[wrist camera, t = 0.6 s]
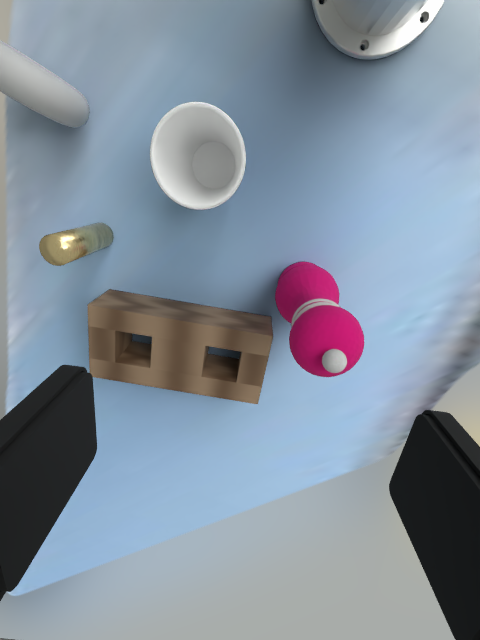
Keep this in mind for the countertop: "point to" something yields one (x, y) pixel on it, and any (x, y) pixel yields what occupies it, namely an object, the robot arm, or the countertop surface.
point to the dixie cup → (197, 155)
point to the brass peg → (75, 243)
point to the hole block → (178, 345)
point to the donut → (40, 89)
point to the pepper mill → (318, 321)
